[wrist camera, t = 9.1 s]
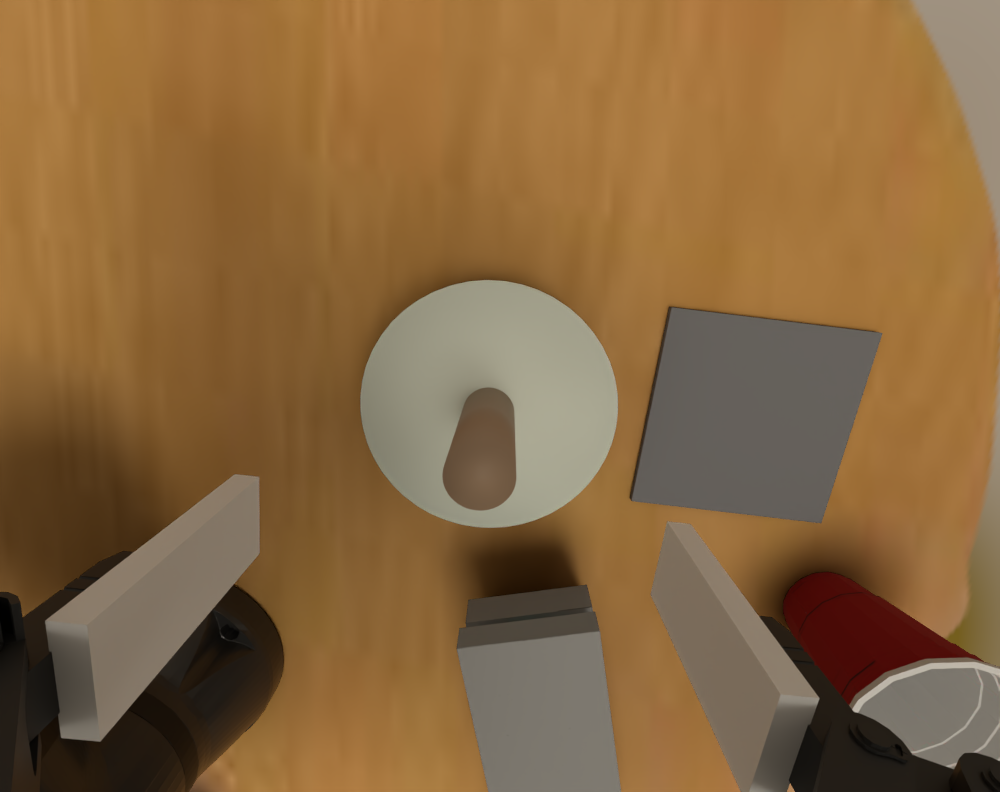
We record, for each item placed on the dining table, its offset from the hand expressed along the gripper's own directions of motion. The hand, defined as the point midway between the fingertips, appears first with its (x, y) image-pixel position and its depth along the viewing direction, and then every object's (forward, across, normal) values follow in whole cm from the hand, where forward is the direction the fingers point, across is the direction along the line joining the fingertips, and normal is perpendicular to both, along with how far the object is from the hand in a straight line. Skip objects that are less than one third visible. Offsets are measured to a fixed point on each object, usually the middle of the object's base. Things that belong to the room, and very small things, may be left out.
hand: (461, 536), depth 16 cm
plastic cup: (+19, +28, -14) cm, 36 cm away
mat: (+19, +19, 0) cm, 26 cm away
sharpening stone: (+19, +8, -23) cm, 31 cm away
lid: (+14, 0, 0) cm, 14 cm away
